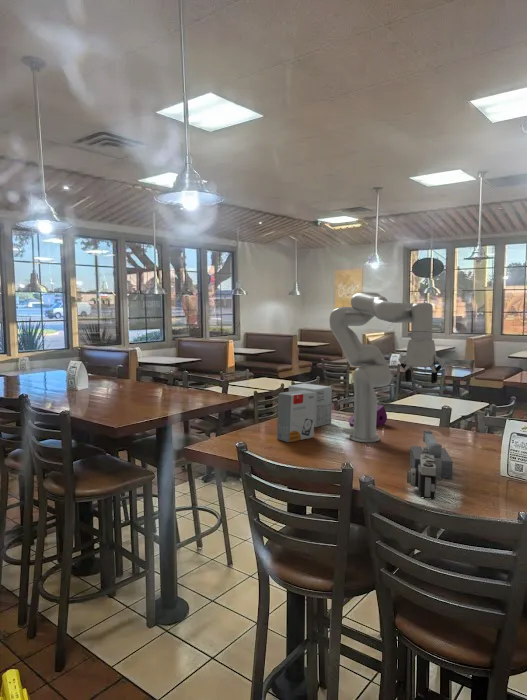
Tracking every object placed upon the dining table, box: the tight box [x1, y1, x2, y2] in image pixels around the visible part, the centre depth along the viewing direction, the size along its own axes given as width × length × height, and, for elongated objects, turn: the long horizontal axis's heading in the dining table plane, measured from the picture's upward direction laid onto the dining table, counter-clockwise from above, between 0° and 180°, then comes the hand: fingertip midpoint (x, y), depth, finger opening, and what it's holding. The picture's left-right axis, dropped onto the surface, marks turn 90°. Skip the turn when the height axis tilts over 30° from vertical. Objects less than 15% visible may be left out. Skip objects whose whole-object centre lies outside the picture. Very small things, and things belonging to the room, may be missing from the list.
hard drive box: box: [276, 390, 315, 443], centre depth 214 cm, size 16×8×20 cm, turn 131°
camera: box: [406, 454, 437, 500], centre depth 155 cm, size 14×8×10 cm, turn 164°
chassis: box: [409, 445, 454, 482], centre depth 173 cm, size 12×19×8 cm, turn 169°
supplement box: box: [288, 383, 333, 428], centre depth 243 cm, size 17×13×18 cm
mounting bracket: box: [348, 403, 388, 428], centre depth 242 cm, size 10×8×18 cm
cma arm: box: [422, 430, 443, 457], centre depth 173 cm, size 4×21×4 cm, turn 169°
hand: (420, 382), depth 187 cm, fingers open, 9 cm apart
